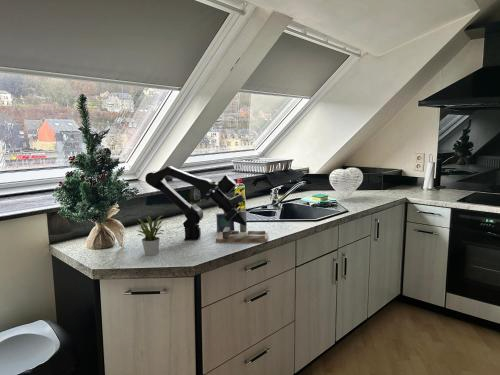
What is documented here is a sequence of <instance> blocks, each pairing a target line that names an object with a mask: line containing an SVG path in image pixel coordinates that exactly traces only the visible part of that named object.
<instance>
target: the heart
mask: <svg viewBox="0 0 500 375" xmlns="http://www.w3.org/2000/svg"><path fill="white" fill-rule="evenodd" d="M363 174H364V173H363V172H362V171H361V169H360V168H357V167H347V168H346V169H343V168H338V169H337V168H336V169H334V170H332V172H331V173H330V174H329V177H328V178H329V184H330V185H331V186H332V188H333V189H334V190H335V192H337V193H338V195H339V196H340V197H341V198H342V199H343V200H348V199H350V197H351V196H352V195H353V194H354V192H356V190H357V189H358V188H359V187H360V185H362V182H363V180H364V175H363Z"/></svg>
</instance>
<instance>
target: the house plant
mask: <svg viewBox="0 0 500 375" xmlns="http://www.w3.org/2000/svg"><path fill="white" fill-rule="evenodd" d="M161 217H164V214H163V215H160V216H158V217H157V218H156V219H155V220H154V222H153V220H152V217H150V216H149V215H148V216H147V218H146V220H147V222H148V225H147V224H146V223H145V222H144V221H143V220H141V219H140V218H137V220H138V221H139V222H140V223H141V224H139V223H138V225H139V226H140V229H141V230H136V232H139V233H137V236H142V237H143V238H142V239H141V242H142V246H143V251H144V254H145V256H155V255H157V254H158V253H159V248H160V247H159V246H160V237H159V236H156V235H164V234H163V232H165V230H164V229H161V227H162V225H160V224H161V223H162V222H164V221H165V220H166V218H164V219H161V220H160V218H161ZM148 226H149V228H148Z"/></svg>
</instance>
